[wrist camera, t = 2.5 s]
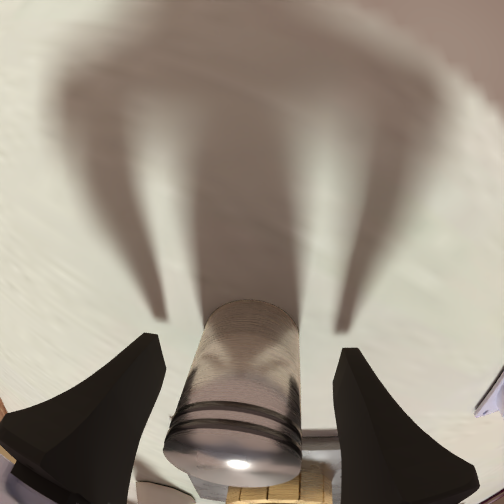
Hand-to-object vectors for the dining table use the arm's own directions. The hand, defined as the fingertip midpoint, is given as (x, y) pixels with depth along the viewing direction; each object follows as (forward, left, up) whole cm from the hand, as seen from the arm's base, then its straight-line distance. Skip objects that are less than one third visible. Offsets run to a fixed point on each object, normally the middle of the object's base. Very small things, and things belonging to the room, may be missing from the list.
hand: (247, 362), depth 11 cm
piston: (0, 0, -1) cm, 1 cm away
